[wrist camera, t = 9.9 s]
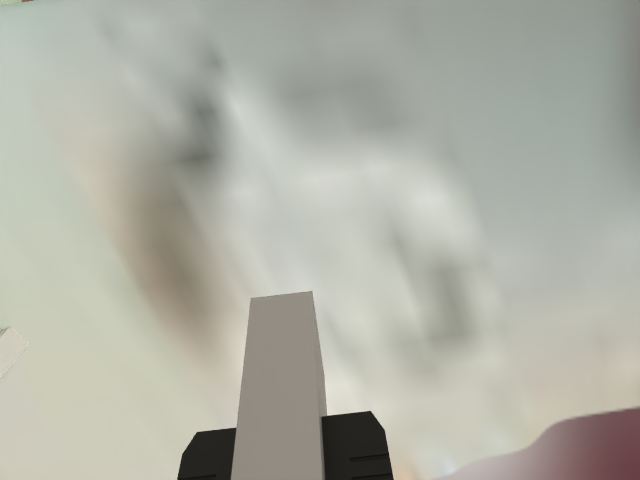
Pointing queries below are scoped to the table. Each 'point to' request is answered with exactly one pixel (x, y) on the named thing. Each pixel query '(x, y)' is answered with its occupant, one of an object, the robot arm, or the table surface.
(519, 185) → the table surface
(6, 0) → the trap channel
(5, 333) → the white bracket plate
